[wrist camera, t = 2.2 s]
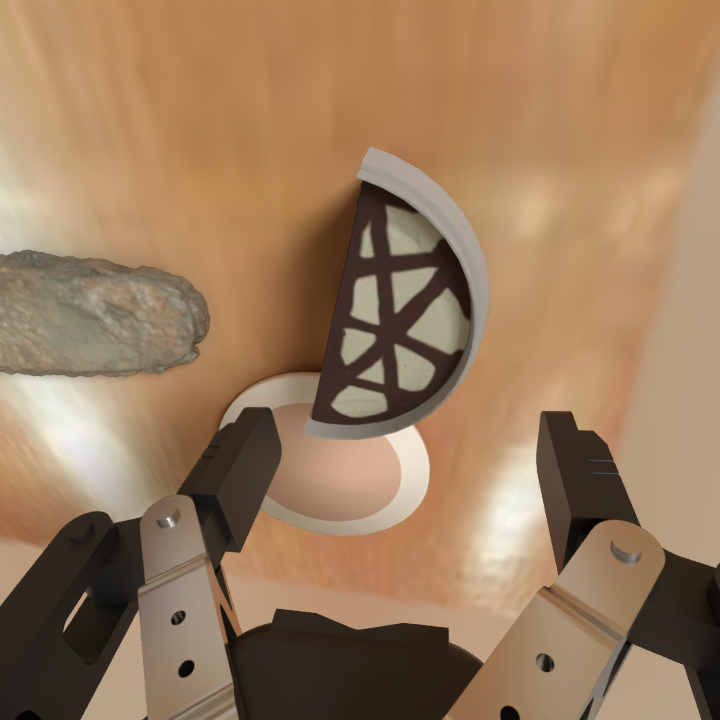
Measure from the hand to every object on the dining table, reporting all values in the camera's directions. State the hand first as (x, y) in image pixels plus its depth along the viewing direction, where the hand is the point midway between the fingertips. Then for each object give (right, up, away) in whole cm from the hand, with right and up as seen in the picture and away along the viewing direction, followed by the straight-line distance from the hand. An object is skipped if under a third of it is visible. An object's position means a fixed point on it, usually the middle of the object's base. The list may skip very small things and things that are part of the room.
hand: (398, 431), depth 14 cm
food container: (+2, +8, +12) cm, 14 cm away
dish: (-4, -5, +21) cm, 22 cm away
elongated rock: (-28, +6, +19) cm, 35 cm away
